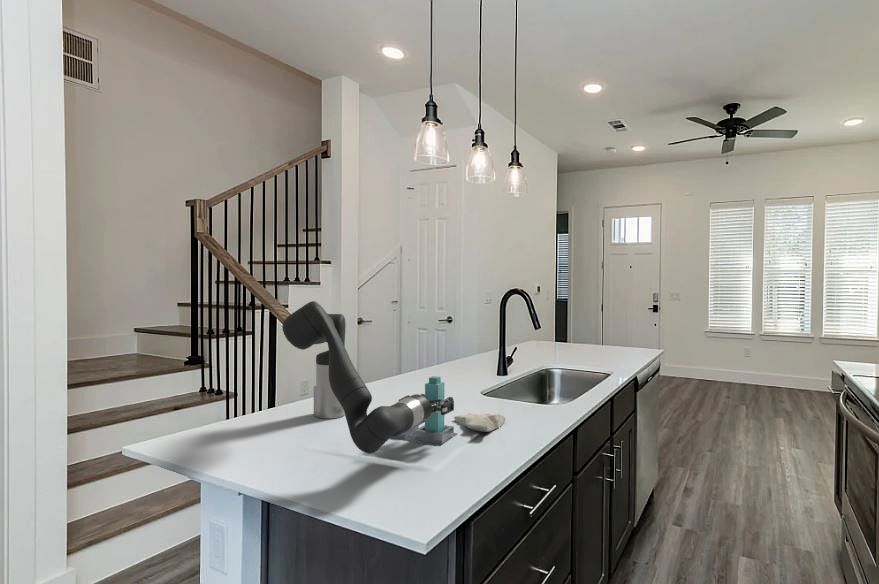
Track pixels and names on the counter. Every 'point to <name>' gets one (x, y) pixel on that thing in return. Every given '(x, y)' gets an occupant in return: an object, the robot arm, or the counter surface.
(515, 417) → the counter surface
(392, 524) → the counter surface
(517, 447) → the counter surface
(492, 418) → the rock
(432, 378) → the plug
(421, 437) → the panel
